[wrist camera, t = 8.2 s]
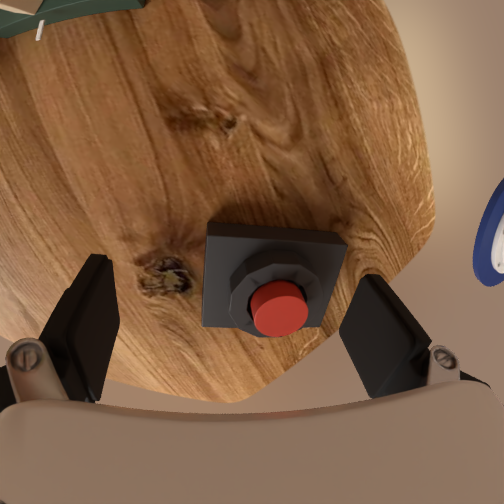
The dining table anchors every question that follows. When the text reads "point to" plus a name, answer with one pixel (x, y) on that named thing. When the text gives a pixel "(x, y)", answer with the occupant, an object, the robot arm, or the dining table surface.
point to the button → (278, 308)
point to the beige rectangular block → (21, 6)
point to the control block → (266, 270)
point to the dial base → (58, 14)
